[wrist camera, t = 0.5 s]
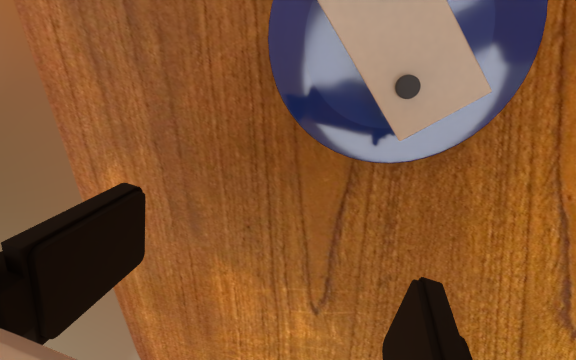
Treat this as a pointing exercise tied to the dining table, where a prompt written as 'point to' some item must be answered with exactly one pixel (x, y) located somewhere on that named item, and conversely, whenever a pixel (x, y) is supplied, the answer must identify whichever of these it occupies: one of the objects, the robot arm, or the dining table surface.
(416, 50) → the controller
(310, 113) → the plate
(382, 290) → the dining table surface
